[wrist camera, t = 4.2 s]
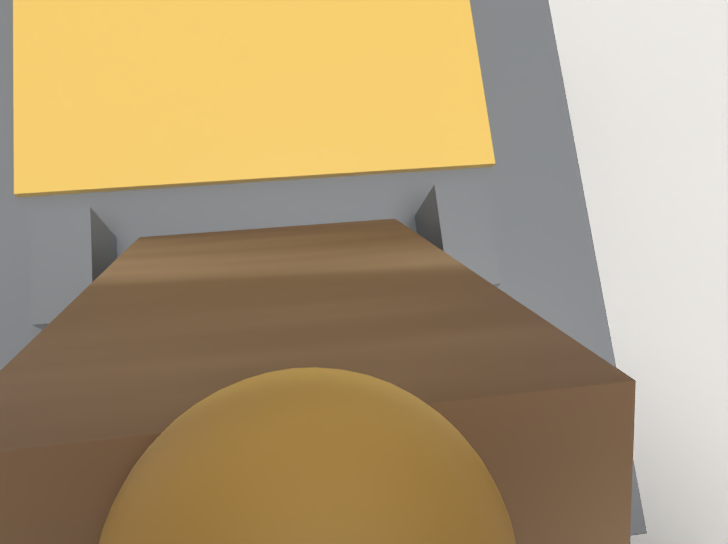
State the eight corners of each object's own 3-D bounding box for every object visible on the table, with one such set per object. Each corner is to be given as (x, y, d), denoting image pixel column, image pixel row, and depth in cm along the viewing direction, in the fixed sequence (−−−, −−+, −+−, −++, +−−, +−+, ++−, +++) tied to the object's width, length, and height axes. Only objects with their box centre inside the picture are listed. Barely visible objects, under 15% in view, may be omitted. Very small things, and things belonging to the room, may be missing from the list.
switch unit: (583, 515, 17) (704, 549, 12) (-27, 599, 15) (-174, 679, 10) (503, 35, 20) (576, -95, 15) (-23, 55, 18) (-137, -86, 13)
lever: (399, 318, 14) (808, 874, 4) (151, 341, 14) (-212, 1098, 3) (393, 193, 14) (858, 425, 3) (136, 211, 13) (-382, 580, 2)
